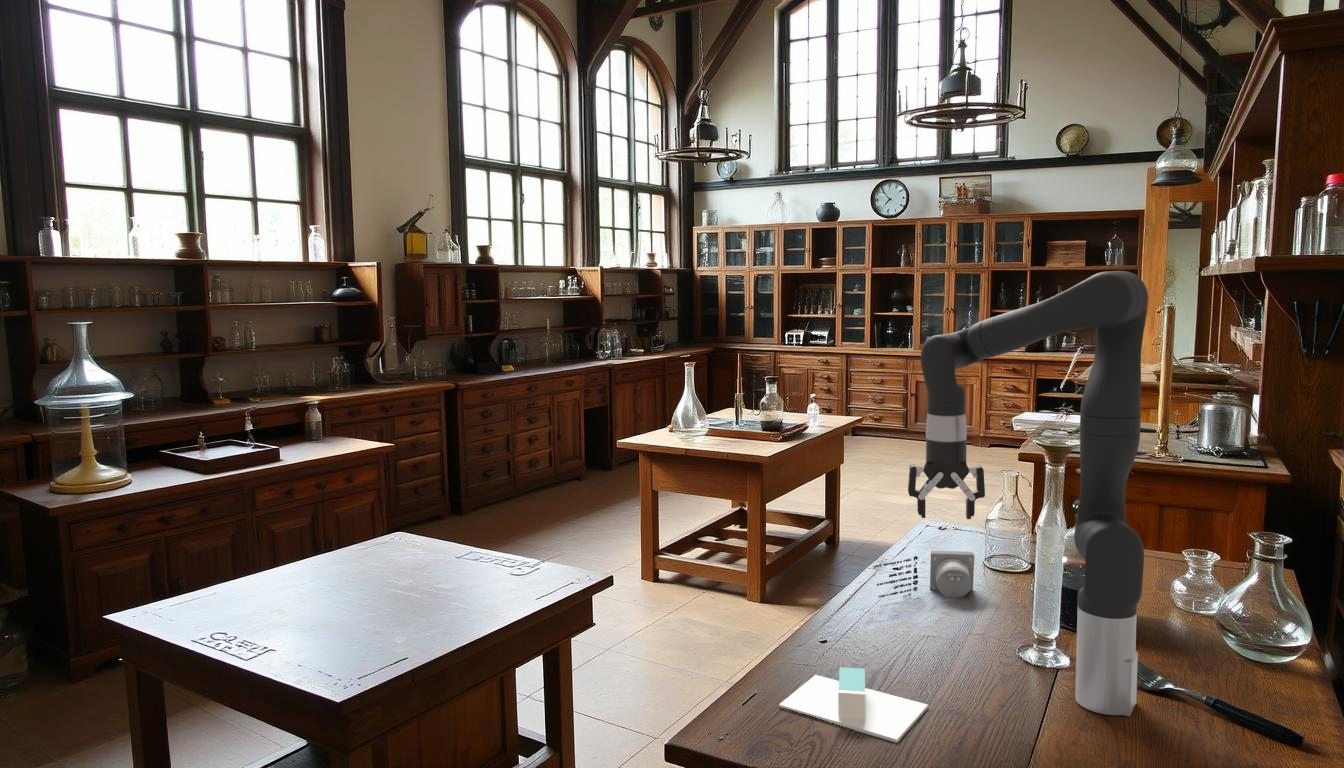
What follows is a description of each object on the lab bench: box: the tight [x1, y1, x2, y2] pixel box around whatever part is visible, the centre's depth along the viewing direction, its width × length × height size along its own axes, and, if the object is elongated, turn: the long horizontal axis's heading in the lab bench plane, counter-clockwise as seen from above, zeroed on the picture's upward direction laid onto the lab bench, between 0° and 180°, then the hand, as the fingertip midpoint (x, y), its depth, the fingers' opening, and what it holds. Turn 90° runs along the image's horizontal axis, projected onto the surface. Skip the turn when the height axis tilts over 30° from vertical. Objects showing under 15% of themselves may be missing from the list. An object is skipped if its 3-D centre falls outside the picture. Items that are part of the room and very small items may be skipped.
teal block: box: [838, 666, 866, 719], centre depth 156 cm, size 4×4×10 cm
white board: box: [778, 674, 929, 744], centre depth 156 cm, size 22×14×1 cm, turn 54°
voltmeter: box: [873, 550, 975, 599], centre depth 207 cm, size 27×11×10 cm, turn 114°
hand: (945, 517), depth 173 cm, fingers open, 8 cm apart
